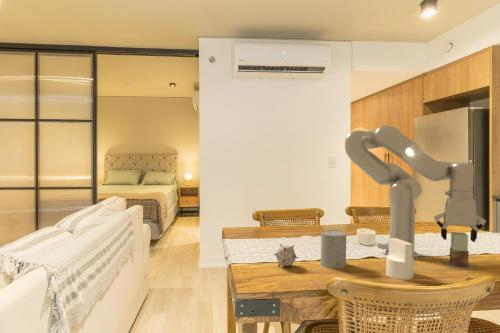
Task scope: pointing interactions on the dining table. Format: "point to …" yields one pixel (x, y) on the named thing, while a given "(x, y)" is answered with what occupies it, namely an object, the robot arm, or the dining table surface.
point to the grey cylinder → (333, 249)
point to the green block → (459, 241)
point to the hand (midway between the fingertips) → (458, 239)
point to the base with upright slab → (400, 260)
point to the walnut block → (459, 258)
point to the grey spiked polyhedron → (285, 255)
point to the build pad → (458, 267)
